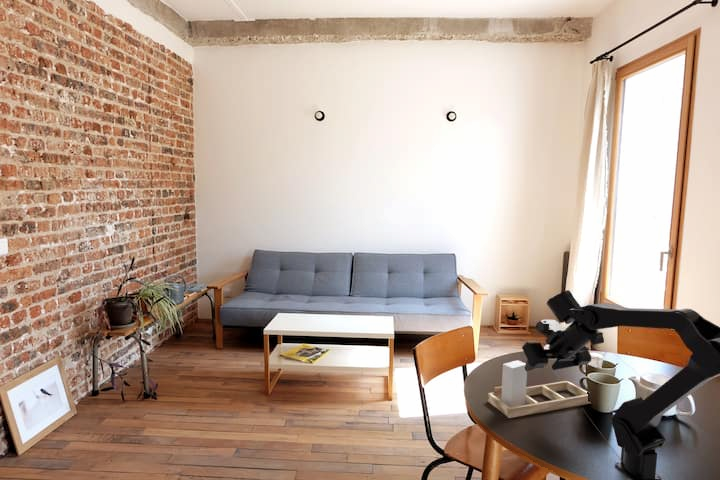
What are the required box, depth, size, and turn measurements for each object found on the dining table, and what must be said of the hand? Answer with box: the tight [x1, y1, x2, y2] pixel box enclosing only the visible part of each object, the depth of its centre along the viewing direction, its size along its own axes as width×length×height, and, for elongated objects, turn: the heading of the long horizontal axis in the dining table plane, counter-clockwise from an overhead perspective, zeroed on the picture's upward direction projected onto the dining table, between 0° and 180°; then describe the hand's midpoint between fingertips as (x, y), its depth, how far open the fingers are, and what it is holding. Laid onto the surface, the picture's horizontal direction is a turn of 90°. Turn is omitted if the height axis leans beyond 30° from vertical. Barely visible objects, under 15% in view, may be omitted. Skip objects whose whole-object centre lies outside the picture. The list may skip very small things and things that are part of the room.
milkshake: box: [587, 351, 607, 369], centre depth 146 cm, size 4×5×10 cm
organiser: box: [487, 380, 592, 419], centre depth 131 cm, size 10×29×4 cm, turn 108°
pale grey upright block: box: [501, 359, 528, 408], centre depth 128 cm, size 4×6×12 cm, turn 121°
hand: (539, 369), depth 123 cm, fingers open, 9 cm apart
